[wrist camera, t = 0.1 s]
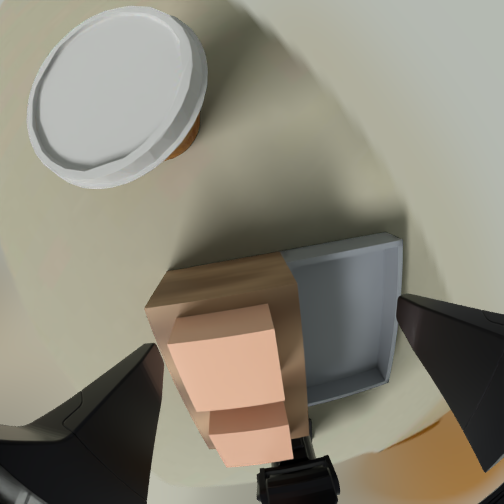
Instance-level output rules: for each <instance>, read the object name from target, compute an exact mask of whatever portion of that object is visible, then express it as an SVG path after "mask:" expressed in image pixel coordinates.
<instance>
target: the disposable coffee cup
mask: <svg viewBox="0 0 504 504" xmlns="http://www.w3.org/2000/svg"><path fill="white" fill-rule="evenodd" d="M207 79H208V67H207V60H206V54H205V52H204V49H203V47H202V44H201V42H200V40H199V39H198V37H197V36H196V34H195V33H194V32H193V30H192V29H191V28H190V27H189V26H187V25H186V24H185V23H183V22H182V21H180V20H179V19H178V18H176V17H174V16H171V15H168V14H166V13H164V12H161V11H159V10H156V9H154V8H152V7H142V6H125V7H120V8H115V9H111V10H107V11H104V12H101V13H99V14H97V15H95V16H93V17H91V18H89V19H87V20H85V21H84V22H82V23H81V24H79V25H78V26H76V27H75V28H73V29H72V30H71V31H70V32H69V33H68V34H67V35H66V36H65V37H64V38H63V39H62V40H61V41H60V42H59V43H58V44H57V45H56V46H55V47H54V48H53V49H52V50H51V52H50V53H49V55H48V56H47V58H46V59H45V61H44V62H43V64H42V65H41V67H40V69H39V71H38V73H37V75H36V77H35V80H34V82H33V85H32V88H31V92H30V96H29V101H28V107H27V127H28V133H29V138H30V142H31V144H32V146H33V149H34V151H35V153H36V155H37V156H38V157H39V159H40V160H41V161H42V163H43V164H44V165H45V166H46V167H48V168H49V169H50V170H52V171H53V172H54V173H56V174H57V175H58V176H59V177H60V178H62V179H64V180H65V181H67V182H68V183H71V184H73V185H76V186H79V187H82V188H92V189H104V188H112V187H115V186H119V185H122V184H126V183H129V182H131V181H133V180H135V179H137V178H139V177H141V176H143V175H145V174H146V173H148V172H150V171H152V170H153V169H154V168H155V167H157V166H158V165H159V164H160V163H162V162H163V161H166V160H168V159H172V158H174V157H176V156H178V155H180V154H182V153H183V152H184V151H186V150H187V149H188V147H189V146H190V145H191V144H192V143H193V141H194V139H195V138H196V136H197V133H198V130H199V125H200V110H201V107H202V104H203V100H204V96H205V93H206V89H207Z"/></svg>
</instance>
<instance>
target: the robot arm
mask: <svg viewBox="0 0 504 504" xmlns="http://www.w3.org/2000/svg"><path fill="white" fill-rule="evenodd" d="M396 319H397V321H398V323H399V325H400V327H401V329H402V331H403V332H404V334H405V336H406V338H407V340H408V342H409V344H410V345H411V347H412V349H413V351H414V352H415V354H416V355H417V357H418V358H419V360H420V361H421V363H422V364H423V366H424V367H425V369H426V370H427V372H428V373H429V375H430V376H431V378H432V379H433V381H434V383H435V384H436V386H437V387H438V389H439V391H440V392H441V394H442V395H443V397H444V399H445V400H446V402H447V404H448V405H449V407H450V409H451V410H452V412H453V413H454V416H455V417H456V419H457V421H458V422H459V424H460V426H461V428H462V430H463V432H464V433H465V435H466V437H467V439H468V441H469V443H470V445H471V446H472V449H473V451H474V453H475V454H476V456H477V458H478V460H479V463H480V465H481V466H482V469H483V470H484V472H485V473H486V472H487V471H488V470H490V469H491V468H492V467H493V466H494V465H495V464H497V463H498V462H499V461H500V460H501V459H502V458H503V457H504V314H499V313H494V312H489V311H484V310H482V311H481V310H479V309H475V308H470V307H466V306H462V305H457V304H453V303H448V302H444V301H439V300H435V299H430V298H426V297H421V296H417V295H412V294H404V295H401V296H399V297H398V299H397V310H396ZM163 373H164V362H163V359H162V357H161V355H160V352H159V350H158V347H157V345H156V344H155V343H147V344H143V345H142V346H141V347H139V348H138V349H137V350H135V351H134V352H133V353H131V354H130V355H129V356H127V357H126V358H125V359H123V360H122V361H121V362H119V363H118V364H117V365H115V366H114V367H112V368H111V369H110V370H108V371H107V372H106V373H104V374H103V375H102V376H100V377H99V378H98V379H96V380H95V381H94V382H92V383H91V384H89V385H88V386H87V387H85V388H84V389H83V390H82V391H80V392H78V393H77V394H76V395H74V396H73V397H72V398H70V399H69V400H67V401H66V402H64V403H63V404H61V405H60V406H58V407H57V408H55V409H53V410H52V411H50V412H48V413H47V414H45V415H44V416H42V417H40V418H39V419H37V420H35V421H33V422H32V423H30V424H28V425H25V426H18V427H16V426H7V425H0V504H147V495H148V485H149V478H150V470H151V463H152V456H153V449H154V442H155V436H156V430H157V424H158V418H159V413H160V407H161V401H162V388H163ZM308 421H309V436H304V437H300V438H295V439H291V445H292V452H293V459H289V460H284V461H278V462H272V463H271V464H272V467H271V468H260V473H259V474H257V483H258V486H257V500H258V501H260V502H262V504H337V502H338V498H337V495H339V494H340V486H339V481H338V478H337V475H336V472H335V470H334V467H333V465H332V463H331V460H330V458H329V456H328V455H326V456H324V457H320V458H316V456H315V453H314V449H313V445H312V422H311V419H308ZM478 504H504V483H502V484H501V485H500V486H499V487H498V488H497V489H496V490H494V491H493V492H492V493H491V494H490V495H488V496H487V497H486V498H485V499H483V500H482V501H481V502H479V503H478Z"/></svg>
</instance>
